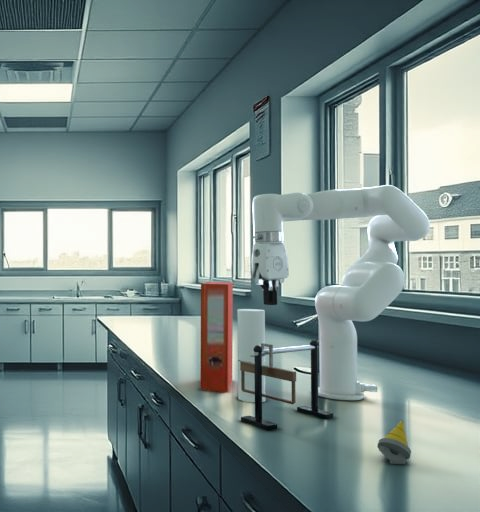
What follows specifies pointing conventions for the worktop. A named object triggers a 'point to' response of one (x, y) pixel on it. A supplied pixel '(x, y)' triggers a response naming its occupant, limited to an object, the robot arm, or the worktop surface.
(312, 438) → the worktop surface
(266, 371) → the brown clothes hanger
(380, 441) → the yellow grey cone
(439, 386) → the worktop surface
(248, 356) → the cylindrical container
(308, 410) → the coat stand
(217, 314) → the file binder
